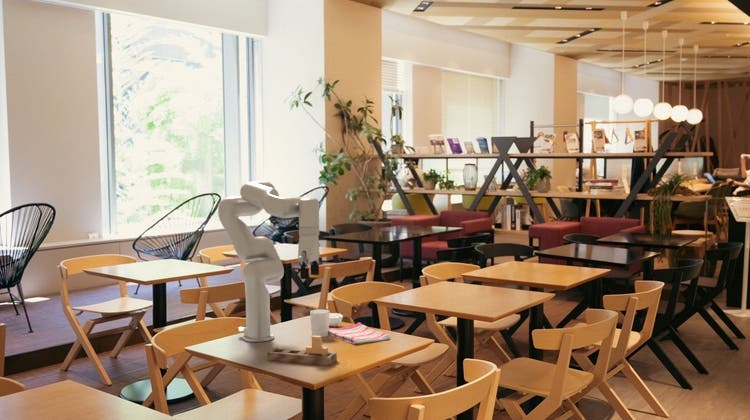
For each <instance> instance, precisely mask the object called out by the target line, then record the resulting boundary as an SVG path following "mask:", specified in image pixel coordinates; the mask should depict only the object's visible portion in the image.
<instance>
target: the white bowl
mask: <svg viewBox="0 0 750 420" xmlns="http://www.w3.org/2000/svg"><path fill="white" fill-rule="evenodd" d="M343 318H344V315H342V314H341V313H338V312H329V328H336V327H338V326H339V325H340V324H341V323H342V322H343V321H342V320H343Z"/></svg>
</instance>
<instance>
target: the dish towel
mask: <svg viewBox="0 0 750 420" xmlns="http://www.w3.org/2000/svg"><path fill="white" fill-rule="evenodd" d="M328 330H329V331H328V336H331V337H333V338H336V339H338V340H340V341H343V342H346V343H348V344H350V345H355V346H357V345H363V344H369V343H370V344H371V343H375V342H383V341H388V340H391V335H390V334H387V333H385V332H384V331H381V330H376V329H373V328H370V327H368V326H367V325H365V324H362V322H357V323H355V324H353V325H349V326H347V327H340V328H336V327H329V329H328Z"/></svg>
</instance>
